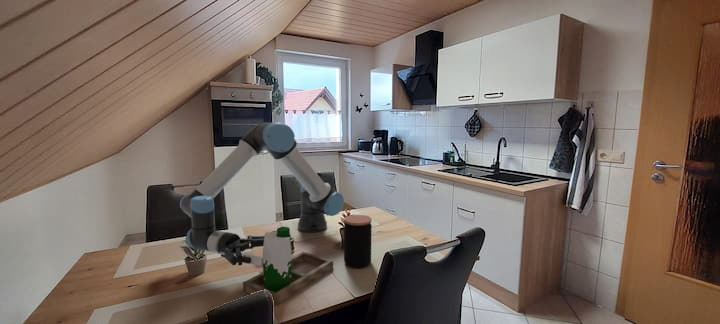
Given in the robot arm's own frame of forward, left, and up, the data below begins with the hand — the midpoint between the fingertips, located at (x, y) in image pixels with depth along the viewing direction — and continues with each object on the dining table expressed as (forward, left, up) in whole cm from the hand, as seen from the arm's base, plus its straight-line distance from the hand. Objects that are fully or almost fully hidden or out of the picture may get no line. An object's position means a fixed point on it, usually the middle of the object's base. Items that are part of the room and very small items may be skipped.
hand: (274, 252), depth 99 cm
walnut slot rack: (-7, 0, -12) cm, 14 cm away
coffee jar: (-30, +13, -12) cm, 35 cm away
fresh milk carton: (-1, +1, -12) cm, 12 cm away
